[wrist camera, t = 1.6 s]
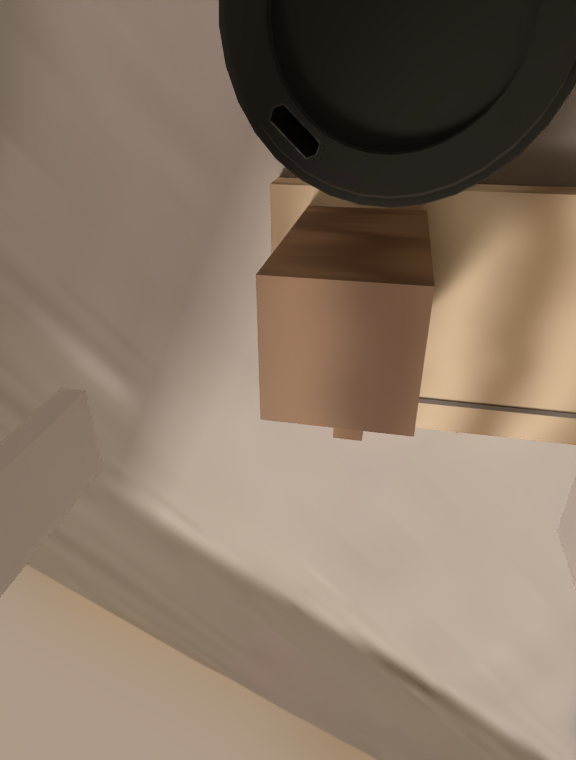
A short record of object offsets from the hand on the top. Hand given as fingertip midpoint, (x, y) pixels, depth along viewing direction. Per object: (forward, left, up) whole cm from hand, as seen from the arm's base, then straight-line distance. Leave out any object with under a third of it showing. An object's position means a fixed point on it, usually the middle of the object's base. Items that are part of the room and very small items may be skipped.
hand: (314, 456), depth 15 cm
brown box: (0, -3, -17) cm, 17 cm away
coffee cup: (+1, +10, -19) cm, 22 cm away
